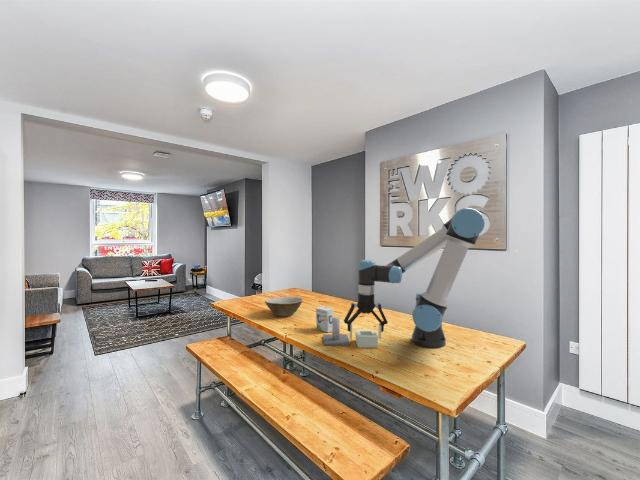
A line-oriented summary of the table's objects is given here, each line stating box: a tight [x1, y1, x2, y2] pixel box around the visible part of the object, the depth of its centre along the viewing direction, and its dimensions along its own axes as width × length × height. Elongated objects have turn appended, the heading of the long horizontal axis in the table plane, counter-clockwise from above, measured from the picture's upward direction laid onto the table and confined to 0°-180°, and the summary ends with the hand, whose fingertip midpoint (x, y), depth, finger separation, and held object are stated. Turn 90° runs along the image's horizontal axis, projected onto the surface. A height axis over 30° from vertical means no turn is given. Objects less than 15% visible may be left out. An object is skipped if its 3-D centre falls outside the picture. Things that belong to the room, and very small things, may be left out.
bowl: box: [264, 296, 304, 317], centre depth 190 cm, size 24×24×10 cm
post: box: [322, 316, 351, 347], centre depth 145 cm, size 12×12×11 cm
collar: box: [355, 329, 379, 349], centre depth 141 cm, size 9×9×5 cm
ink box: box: [315, 305, 334, 333], centre depth 161 cm, size 9×5×12 cm, turn 47°
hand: (365, 338), depth 141 cm, fingers open, 13 cm apart
